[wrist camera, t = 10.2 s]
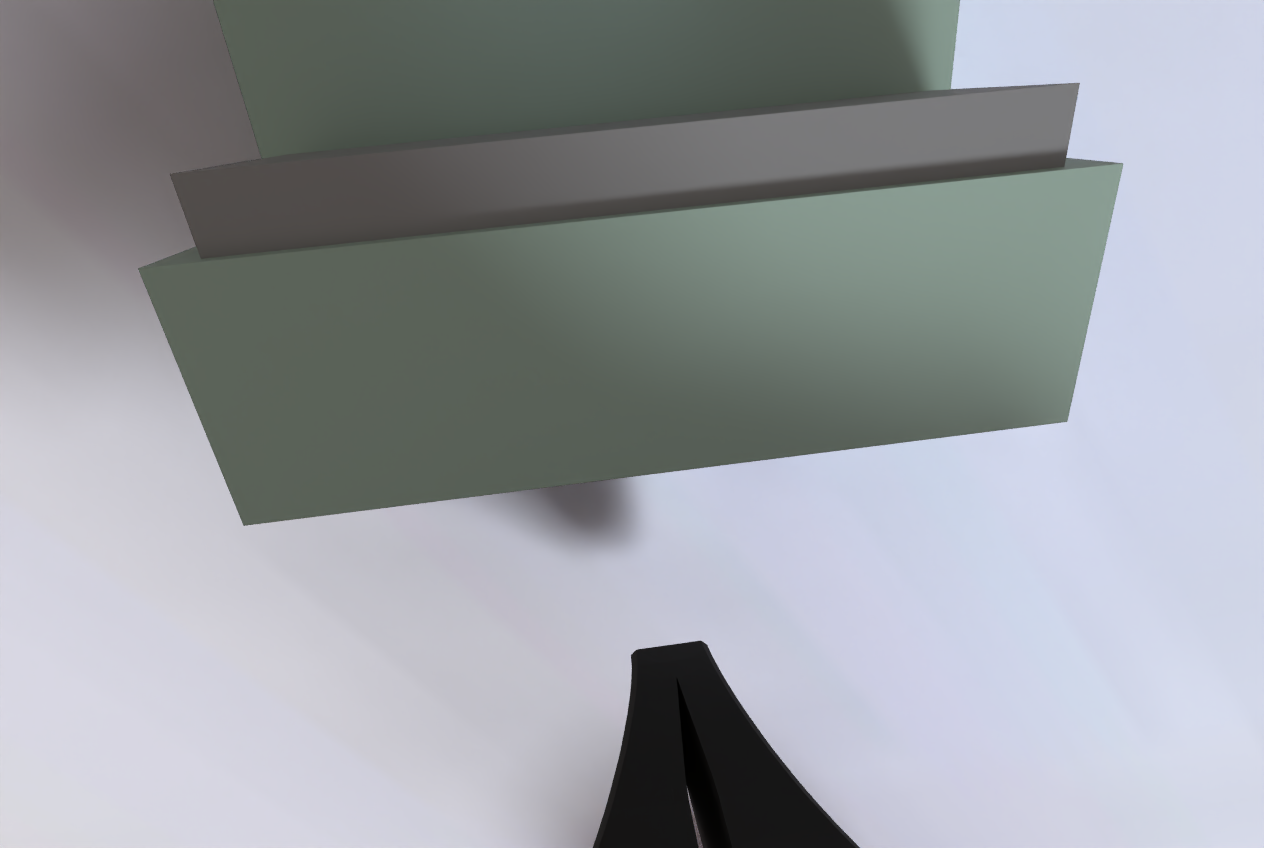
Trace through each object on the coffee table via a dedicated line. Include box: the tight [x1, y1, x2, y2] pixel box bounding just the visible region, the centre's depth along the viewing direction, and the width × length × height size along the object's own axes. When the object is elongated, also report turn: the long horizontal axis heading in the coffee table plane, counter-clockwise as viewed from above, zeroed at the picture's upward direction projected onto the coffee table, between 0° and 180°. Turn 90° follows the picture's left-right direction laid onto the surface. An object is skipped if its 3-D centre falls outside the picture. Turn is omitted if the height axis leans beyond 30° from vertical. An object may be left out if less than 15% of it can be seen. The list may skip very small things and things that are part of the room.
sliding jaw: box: [138, 83, 1123, 526], centre depth 9 cm, size 10×4×4 cm, turn 95°
